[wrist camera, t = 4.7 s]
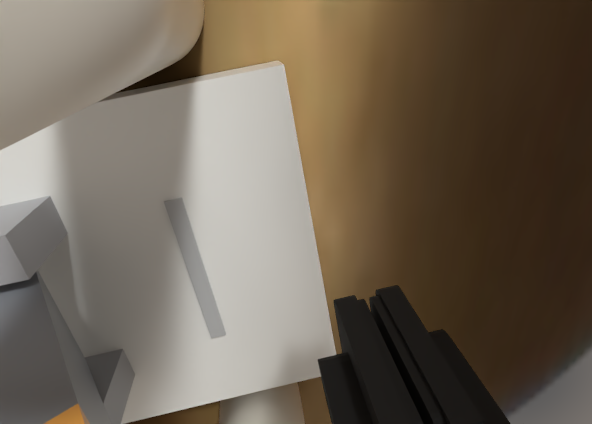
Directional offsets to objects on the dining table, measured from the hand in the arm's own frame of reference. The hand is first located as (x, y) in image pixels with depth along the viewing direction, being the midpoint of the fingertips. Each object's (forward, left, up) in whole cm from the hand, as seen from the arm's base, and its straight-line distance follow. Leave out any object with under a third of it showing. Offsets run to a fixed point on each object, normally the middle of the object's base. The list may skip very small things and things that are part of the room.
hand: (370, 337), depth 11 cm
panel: (+9, 0, -7) cm, 12 cm away
